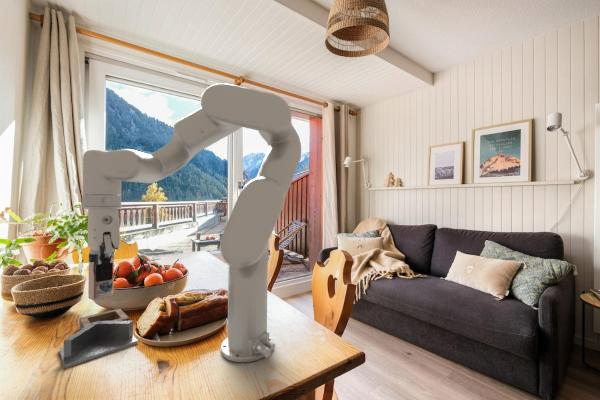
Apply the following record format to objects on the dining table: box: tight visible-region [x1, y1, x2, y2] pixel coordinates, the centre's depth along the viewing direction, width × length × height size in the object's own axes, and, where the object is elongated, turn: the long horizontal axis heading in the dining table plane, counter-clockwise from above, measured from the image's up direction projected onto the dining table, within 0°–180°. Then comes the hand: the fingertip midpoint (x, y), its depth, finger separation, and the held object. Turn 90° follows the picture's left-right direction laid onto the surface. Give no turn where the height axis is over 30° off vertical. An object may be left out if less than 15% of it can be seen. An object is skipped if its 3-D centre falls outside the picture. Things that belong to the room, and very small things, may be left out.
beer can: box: [87, 248, 115, 301], centre depth 65 cm, size 5×5×12 cm
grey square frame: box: [78, 308, 130, 331], centre depth 75 cm, size 10×10×3 cm
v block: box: [58, 320, 139, 370], centre depth 66 cm, size 10×14×5 cm
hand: (101, 277), depth 65 cm, fingers closed on beer can, 4 cm apart
